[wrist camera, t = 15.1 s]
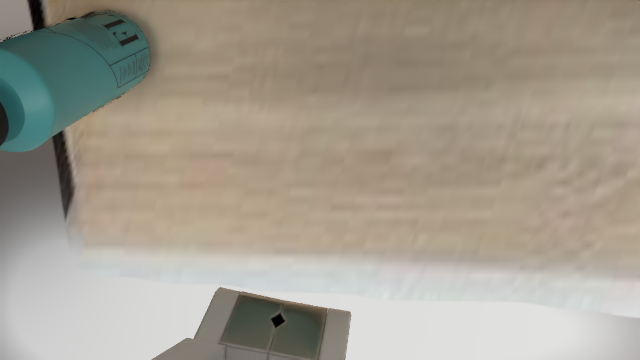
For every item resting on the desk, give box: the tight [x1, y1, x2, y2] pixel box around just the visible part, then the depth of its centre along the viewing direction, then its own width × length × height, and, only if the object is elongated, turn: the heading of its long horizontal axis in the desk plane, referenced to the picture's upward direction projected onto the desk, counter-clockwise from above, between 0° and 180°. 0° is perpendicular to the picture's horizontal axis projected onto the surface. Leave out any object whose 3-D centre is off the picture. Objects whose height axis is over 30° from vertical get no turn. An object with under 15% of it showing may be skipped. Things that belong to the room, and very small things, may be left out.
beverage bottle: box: [0, 10, 150, 152], centre depth 36 cm, size 6×7×20 cm
